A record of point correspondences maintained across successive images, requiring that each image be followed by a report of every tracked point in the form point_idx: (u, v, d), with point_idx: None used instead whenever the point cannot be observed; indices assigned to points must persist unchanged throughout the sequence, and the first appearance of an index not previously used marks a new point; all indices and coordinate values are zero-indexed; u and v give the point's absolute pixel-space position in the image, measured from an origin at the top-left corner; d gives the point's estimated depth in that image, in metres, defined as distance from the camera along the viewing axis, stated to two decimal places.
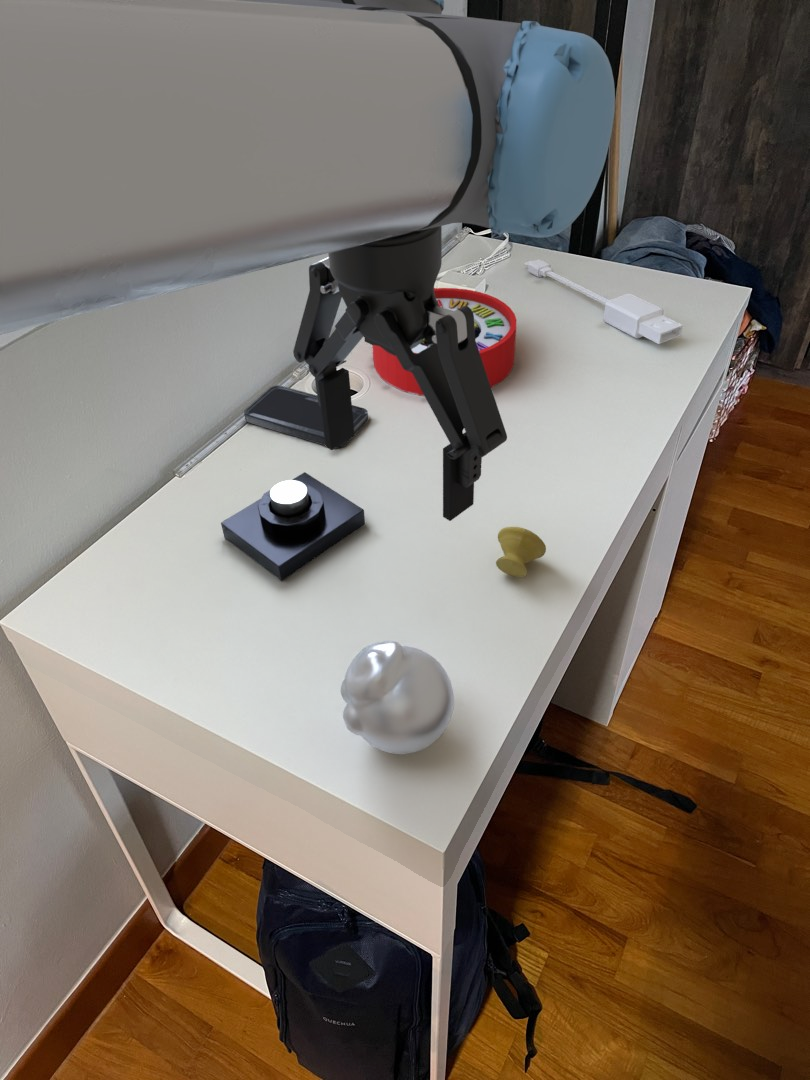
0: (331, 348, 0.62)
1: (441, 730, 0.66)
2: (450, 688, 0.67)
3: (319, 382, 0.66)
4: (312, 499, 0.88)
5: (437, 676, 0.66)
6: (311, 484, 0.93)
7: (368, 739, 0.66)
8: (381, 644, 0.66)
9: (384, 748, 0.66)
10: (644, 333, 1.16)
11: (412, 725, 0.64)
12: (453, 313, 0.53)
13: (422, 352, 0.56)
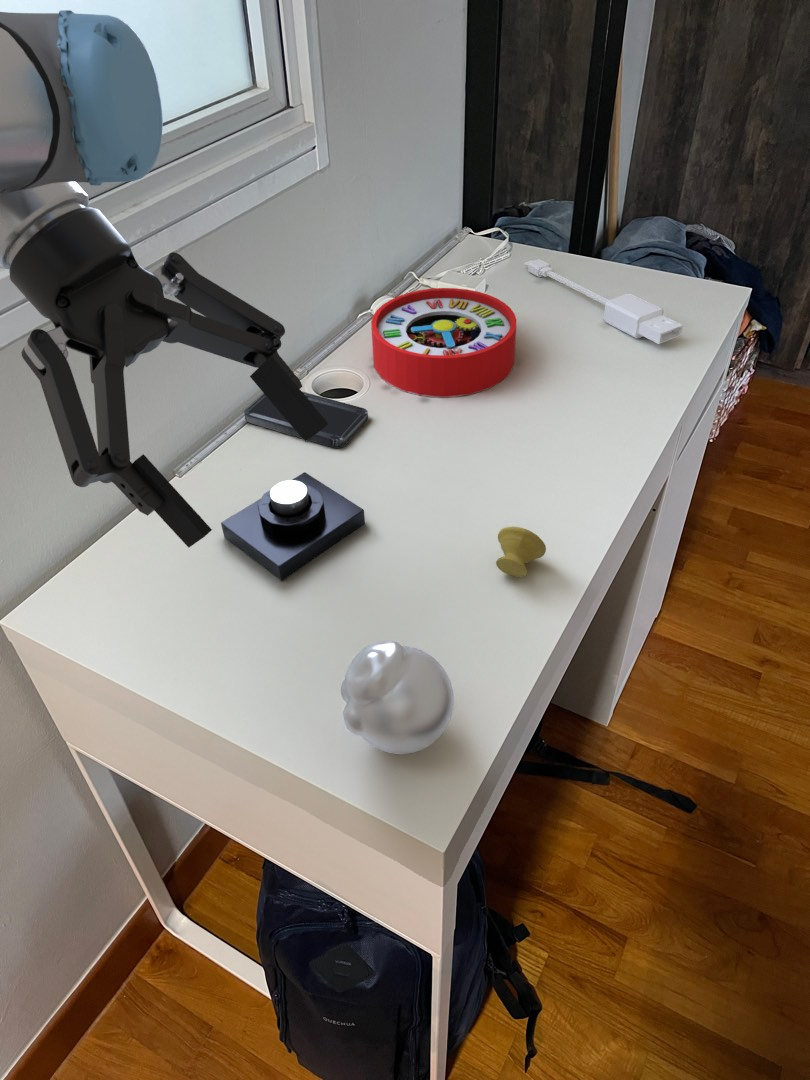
0: (117, 401, 0.53)
1: (441, 730, 0.66)
2: (450, 688, 0.67)
3: (138, 459, 0.52)
4: (312, 499, 0.88)
5: (437, 676, 0.66)
6: (311, 484, 0.93)
7: (368, 739, 0.66)
8: (381, 644, 0.66)
9: (384, 748, 0.66)
10: (644, 333, 1.16)
11: (412, 725, 0.64)
12: None
13: None
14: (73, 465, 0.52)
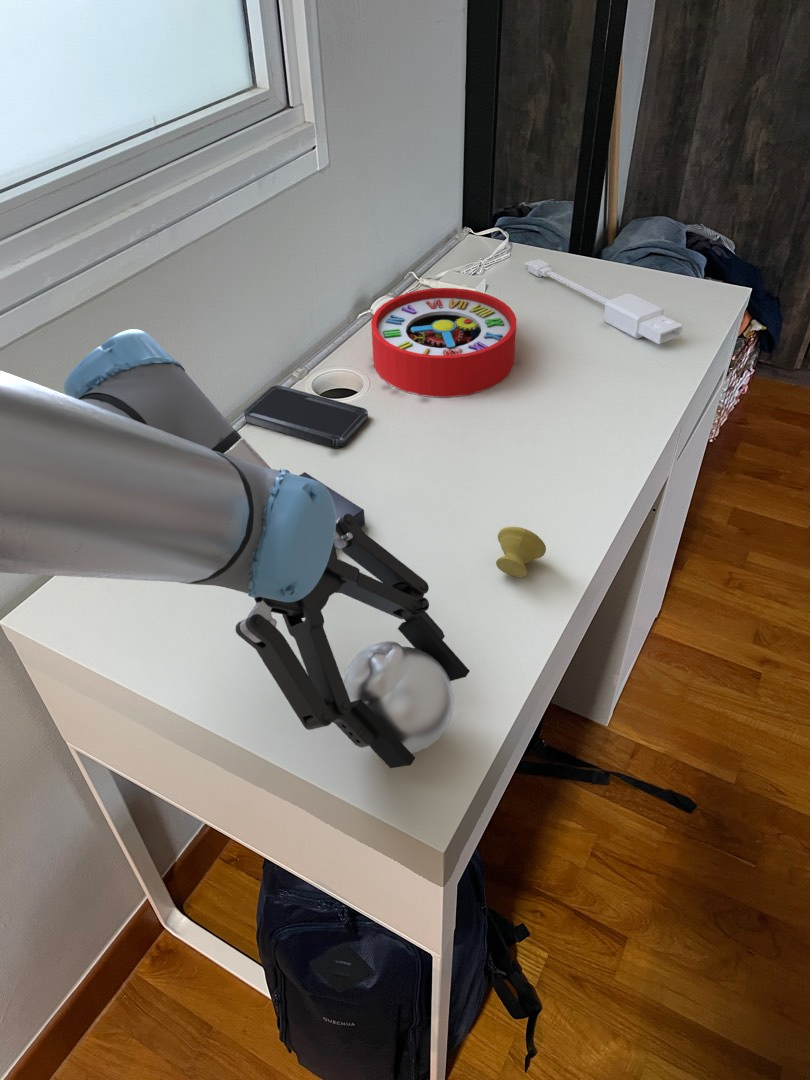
0: (327, 656, 0.62)
1: (441, 731, 0.66)
2: (450, 689, 0.67)
3: (357, 705, 0.62)
4: None
5: (437, 676, 0.66)
6: None
7: None
8: (381, 644, 0.66)
9: None
10: (644, 333, 1.16)
11: (411, 726, 0.64)
12: (338, 518, 0.68)
13: None
14: (304, 715, 0.61)
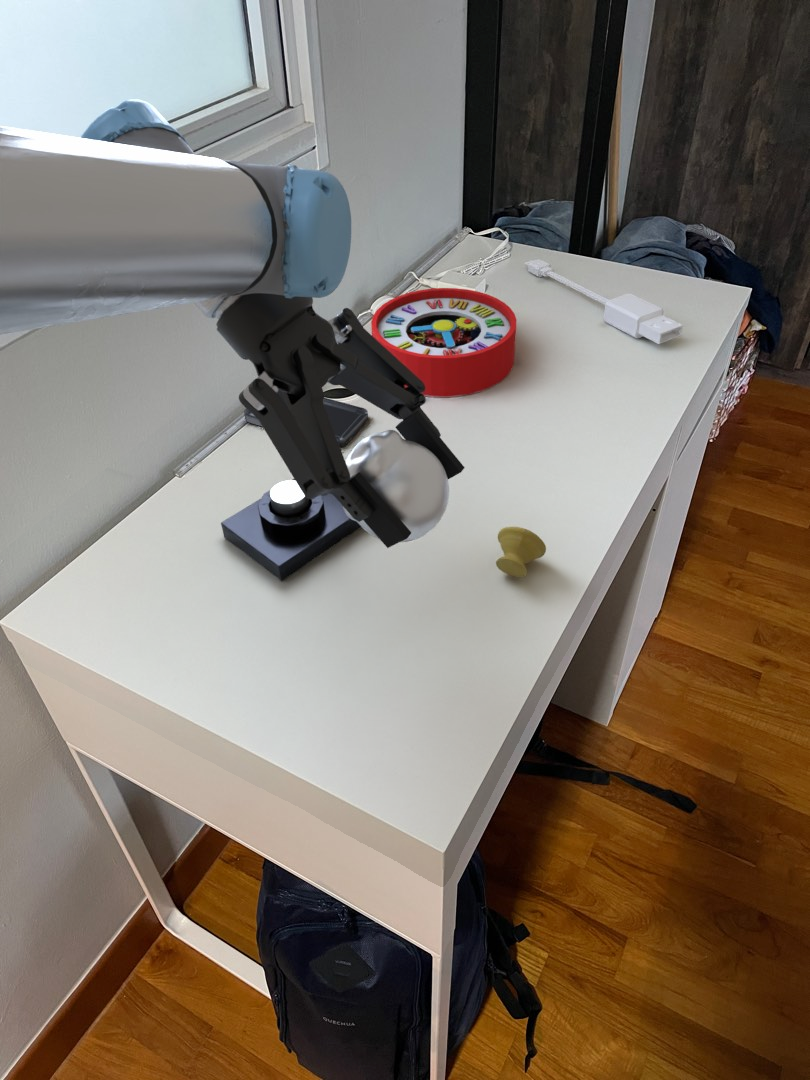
0: (327, 428, 0.64)
1: (436, 515, 0.68)
2: (445, 477, 0.69)
3: (356, 476, 0.64)
4: (312, 499, 0.88)
5: (433, 462, 0.68)
6: None
7: None
8: None
9: None
10: (644, 333, 1.16)
11: (408, 503, 0.66)
12: None
13: None
14: (304, 483, 0.63)
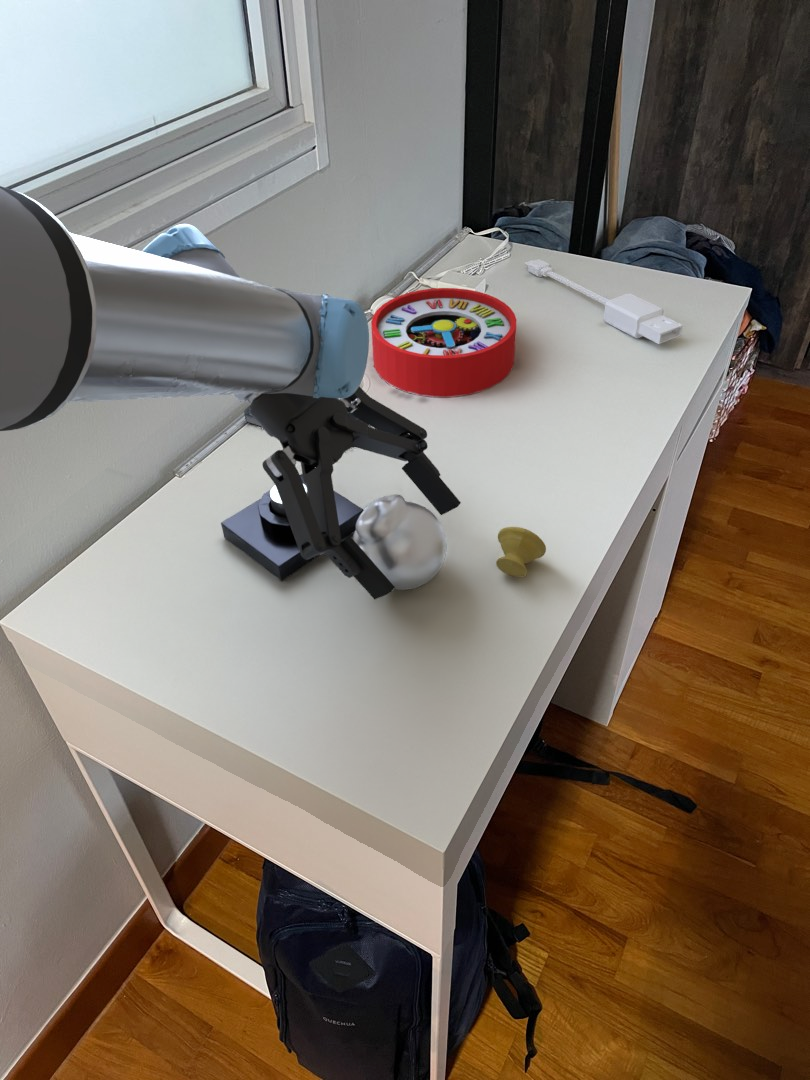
0: (329, 498, 0.74)
1: (436, 567, 0.80)
2: (443, 534, 0.80)
3: (346, 539, 0.74)
4: None
5: (433, 522, 0.79)
6: None
7: None
8: (386, 496, 0.80)
9: None
10: (644, 333, 1.16)
11: (411, 559, 0.78)
12: None
13: None
14: (302, 544, 0.73)
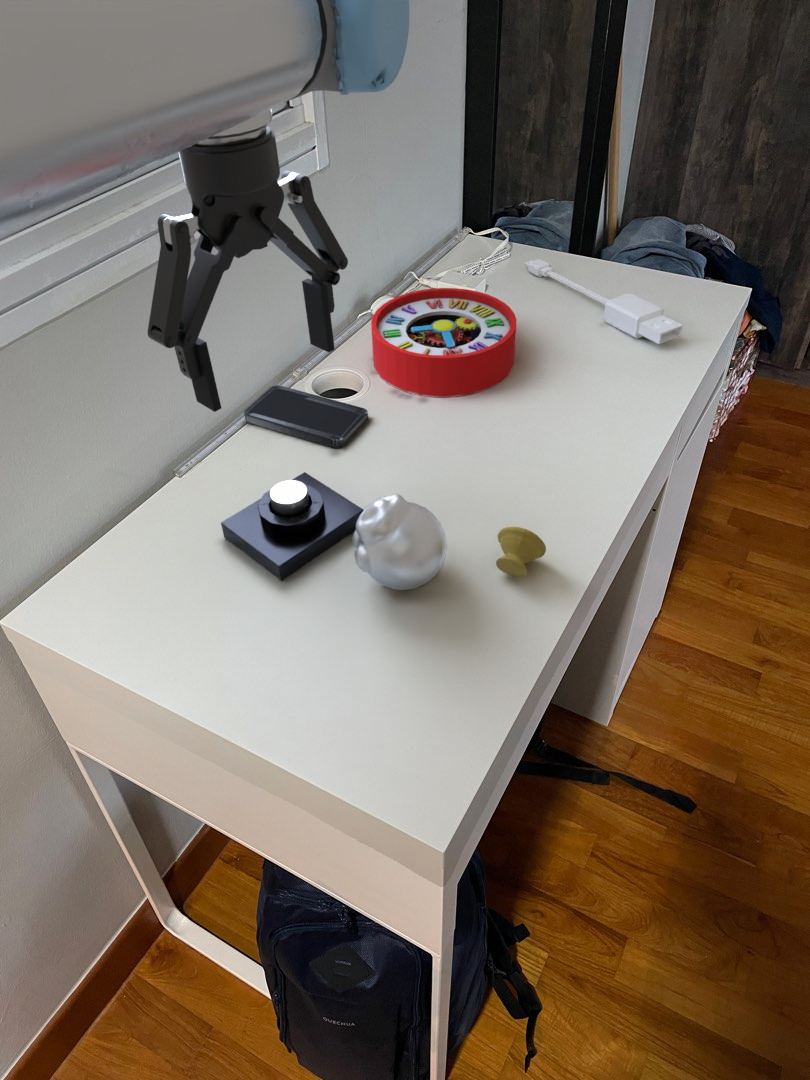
0: (208, 295, 0.67)
1: (436, 567, 0.80)
2: (443, 534, 0.80)
3: (200, 345, 0.68)
4: (312, 499, 0.88)
5: (433, 522, 0.79)
6: (311, 484, 0.93)
7: (375, 574, 0.80)
8: (386, 496, 0.80)
9: (388, 581, 0.79)
10: (644, 333, 1.16)
11: (411, 559, 0.78)
12: (295, 174, 0.69)
13: None
14: (154, 325, 0.66)
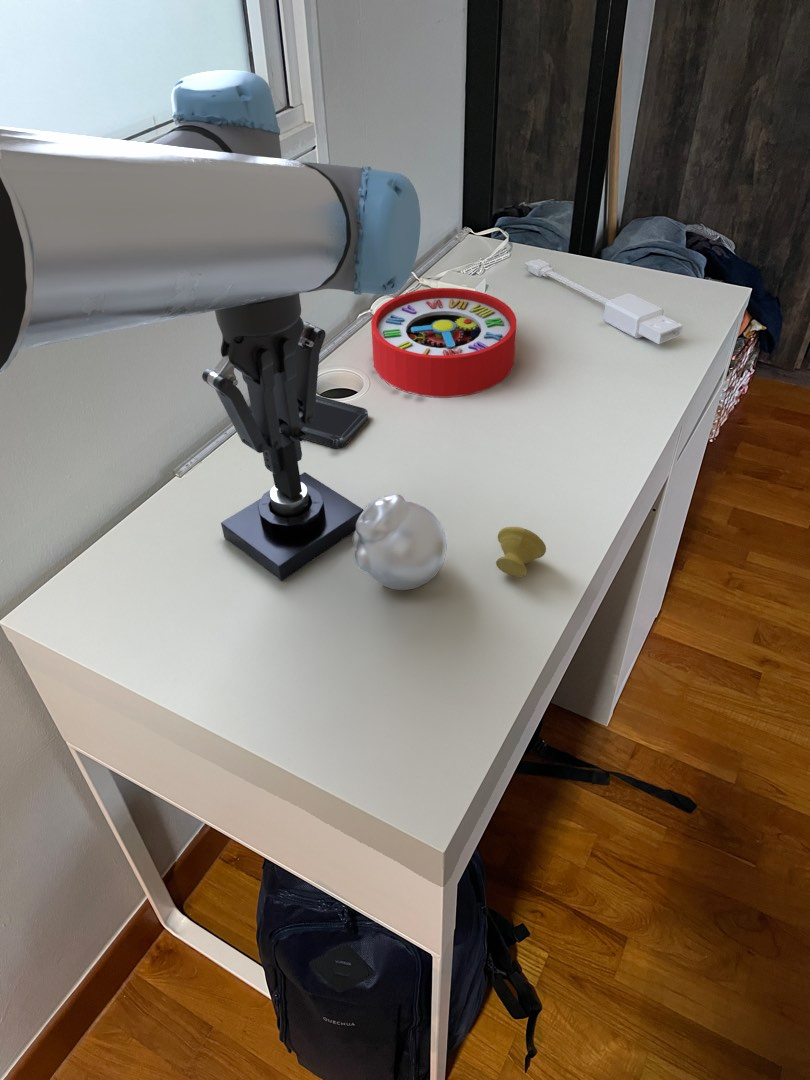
0: (271, 411, 0.78)
1: (436, 567, 0.80)
2: (443, 534, 0.80)
3: (284, 447, 0.81)
4: (312, 499, 0.88)
5: (433, 522, 0.79)
6: (311, 484, 0.93)
7: (375, 574, 0.80)
8: (386, 496, 0.80)
9: (388, 581, 0.79)
10: (644, 333, 1.16)
11: (411, 559, 0.78)
12: (315, 326, 0.78)
13: None
14: (244, 438, 0.79)
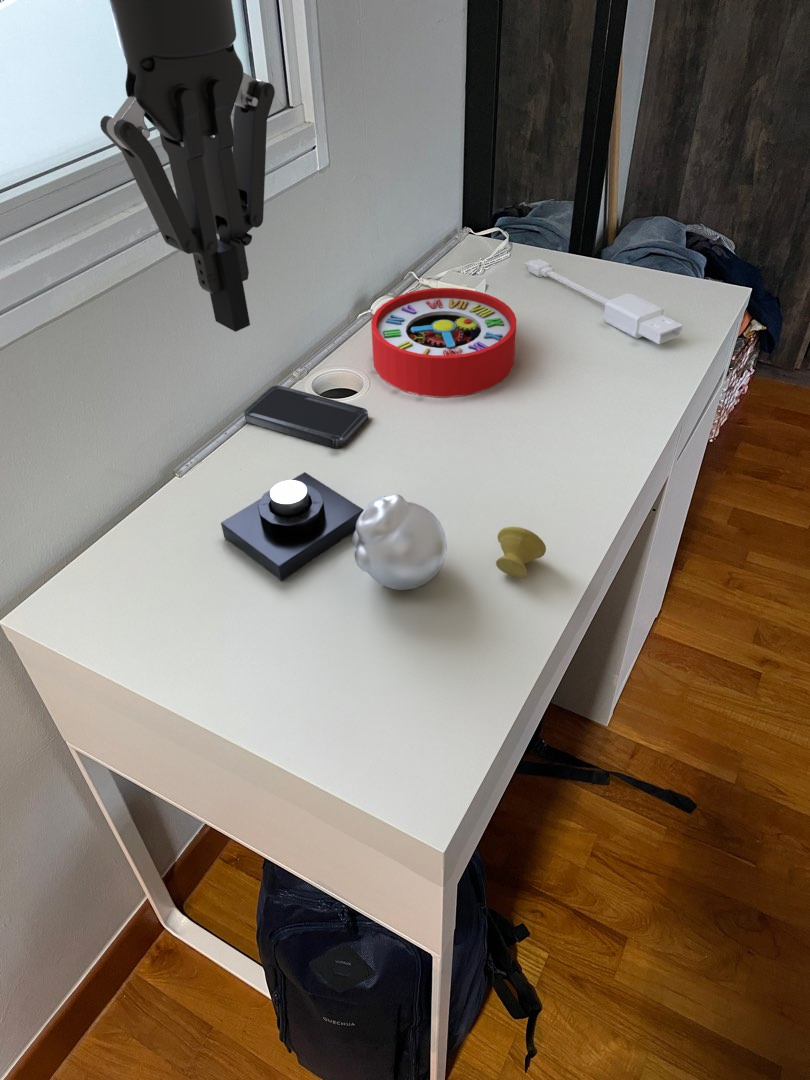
0: (201, 192, 0.58)
1: (436, 567, 0.80)
2: (443, 534, 0.80)
3: (222, 253, 0.61)
4: (312, 499, 0.88)
5: (433, 522, 0.79)
6: (311, 484, 0.93)
7: (375, 574, 0.80)
8: (386, 496, 0.80)
9: (388, 581, 0.79)
10: (644, 333, 1.16)
11: (411, 559, 0.78)
12: None
13: None
14: (167, 233, 0.59)
